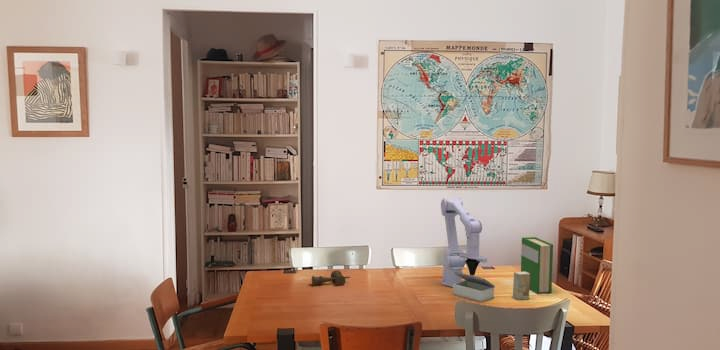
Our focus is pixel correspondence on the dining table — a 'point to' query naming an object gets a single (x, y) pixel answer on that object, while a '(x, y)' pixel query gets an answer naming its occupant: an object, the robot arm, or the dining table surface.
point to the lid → (474, 279)
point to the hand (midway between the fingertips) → (472, 274)
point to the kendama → (330, 279)
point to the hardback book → (537, 263)
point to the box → (473, 291)
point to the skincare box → (521, 285)
